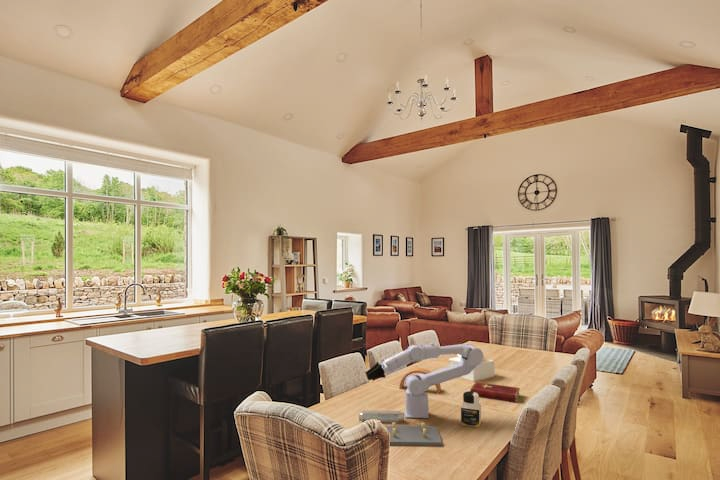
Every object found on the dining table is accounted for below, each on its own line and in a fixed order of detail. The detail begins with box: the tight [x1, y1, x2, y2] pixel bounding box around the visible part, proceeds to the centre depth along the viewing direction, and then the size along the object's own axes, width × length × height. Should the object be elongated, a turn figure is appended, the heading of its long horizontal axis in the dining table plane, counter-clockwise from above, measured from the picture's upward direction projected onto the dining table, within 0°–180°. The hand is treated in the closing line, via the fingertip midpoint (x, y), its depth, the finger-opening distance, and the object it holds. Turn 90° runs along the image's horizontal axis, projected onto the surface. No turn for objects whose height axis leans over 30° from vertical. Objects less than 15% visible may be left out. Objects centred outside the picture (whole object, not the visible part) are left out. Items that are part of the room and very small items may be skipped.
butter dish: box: [448, 353, 496, 383], centre depth 237 cm, size 18×18×16 cm
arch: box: [399, 367, 442, 394], centre depth 212 cm, size 6×20×10 cm, turn 70°
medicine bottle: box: [460, 390, 482, 428], centre depth 170 cm, size 7×7×12 cm
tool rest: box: [384, 422, 443, 447], centre depth 156 cm, size 22×14×4 cm, turn 88°
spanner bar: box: [358, 410, 405, 424], centre depth 172 cm, size 18×3×4 cm, turn 88°
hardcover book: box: [469, 381, 521, 404], centre depth 203 cm, size 12×21×4 cm, turn 61°
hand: (366, 376), depth 177 cm, fingers open, 7 cm apart
